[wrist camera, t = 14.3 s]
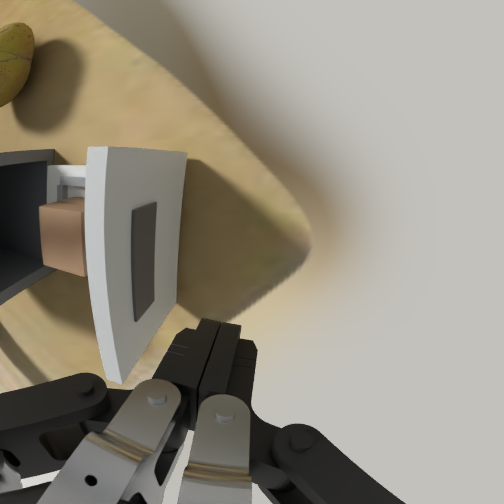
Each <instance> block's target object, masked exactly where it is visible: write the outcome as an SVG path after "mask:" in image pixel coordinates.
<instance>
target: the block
mask: <svg viewBox="0 0 504 504" xmlns="http://www.w3.org/2000/svg"><path fill="white" fill-rule="evenodd" d="M39 220H40V236H41V247H42V257H43V265H46V266H49V267H53V268H56V269H59V270H62V271H65V272H69V273H72V274H76V275H79V276H82V277H85V276H87V275H88V272H87V261H86V245H85V198H83V197H72V198H68V199H64V200H60V201H57V202H53V203H49V204H46V205H42V206H39Z"/></svg>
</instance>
